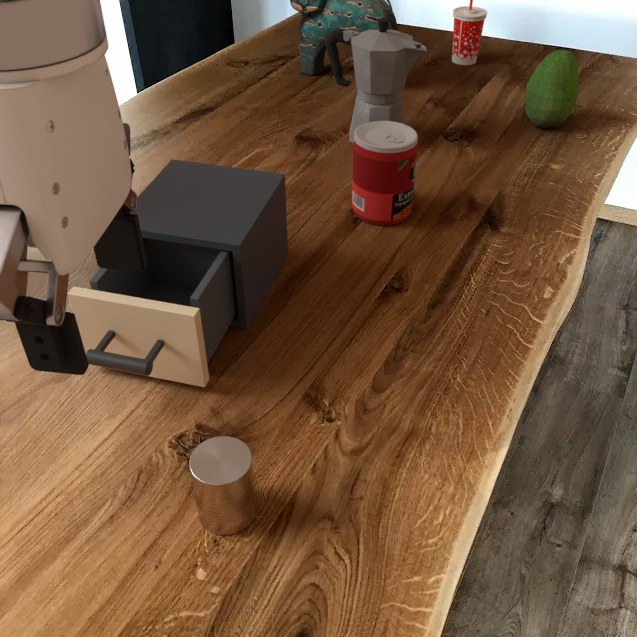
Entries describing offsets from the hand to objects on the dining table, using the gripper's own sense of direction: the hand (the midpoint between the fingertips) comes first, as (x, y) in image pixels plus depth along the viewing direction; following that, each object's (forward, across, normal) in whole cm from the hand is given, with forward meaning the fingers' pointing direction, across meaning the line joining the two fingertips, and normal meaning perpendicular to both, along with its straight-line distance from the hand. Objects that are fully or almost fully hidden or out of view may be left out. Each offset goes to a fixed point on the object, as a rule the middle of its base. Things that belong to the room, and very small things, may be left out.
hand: (94, 314), depth 44 cm
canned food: (+23, -52, +14) cm, 59 cm away
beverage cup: (+23, -108, +25) cm, 113 cm away
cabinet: (+23, -34, -4) cm, 41 cm away
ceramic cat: (+23, -97, +4) cm, 99 cm away
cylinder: (+23, -3, +5) cm, 24 cm away
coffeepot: (+23, -74, +11) cm, 78 cm away
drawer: (+22, -21, -6) cm, 31 cm away
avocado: (+23, -82, +38) cm, 93 cm away
